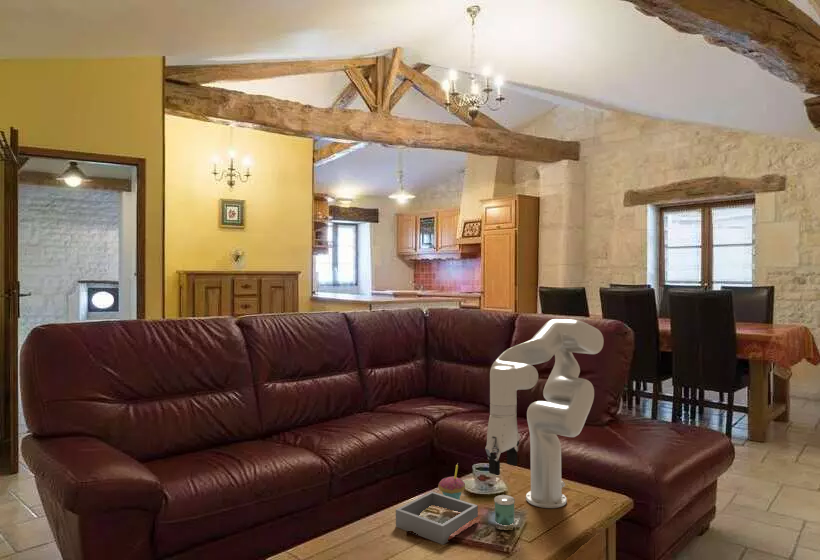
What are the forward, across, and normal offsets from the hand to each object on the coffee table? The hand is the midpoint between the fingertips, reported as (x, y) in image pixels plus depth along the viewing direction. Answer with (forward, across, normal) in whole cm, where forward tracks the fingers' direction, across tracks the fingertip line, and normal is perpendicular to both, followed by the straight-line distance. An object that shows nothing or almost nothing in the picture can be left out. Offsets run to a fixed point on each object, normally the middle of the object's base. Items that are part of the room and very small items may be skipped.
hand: (503, 469), depth 161 cm
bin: (+17, +10, -16) cm, 25 cm away
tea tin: (+17, -1, 0) cm, 17 cm away
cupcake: (+17, -7, -23) cm, 29 cm away
